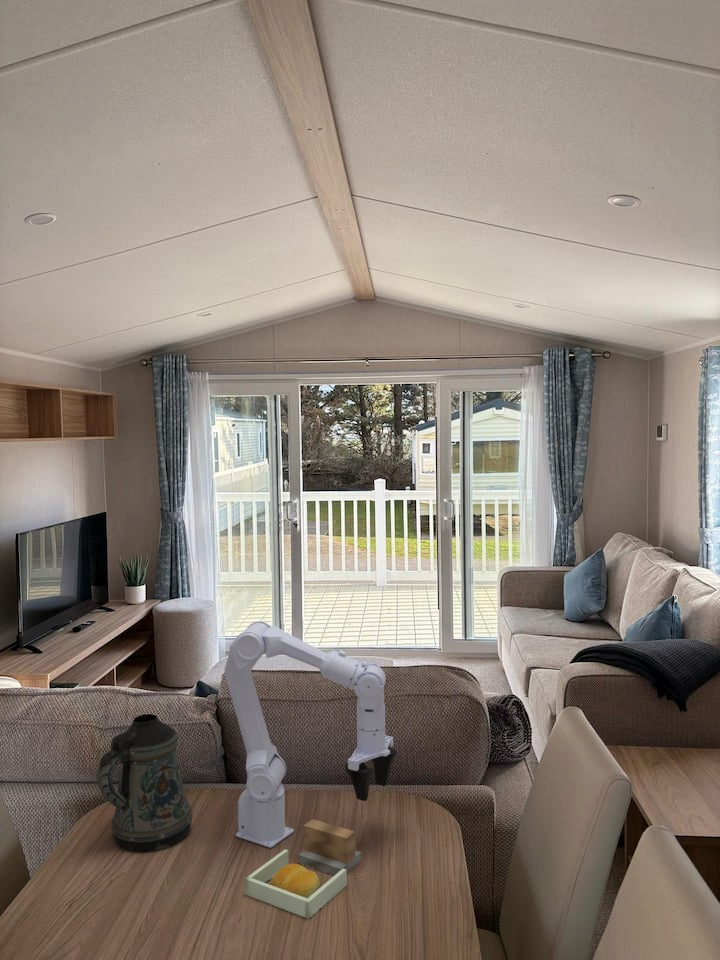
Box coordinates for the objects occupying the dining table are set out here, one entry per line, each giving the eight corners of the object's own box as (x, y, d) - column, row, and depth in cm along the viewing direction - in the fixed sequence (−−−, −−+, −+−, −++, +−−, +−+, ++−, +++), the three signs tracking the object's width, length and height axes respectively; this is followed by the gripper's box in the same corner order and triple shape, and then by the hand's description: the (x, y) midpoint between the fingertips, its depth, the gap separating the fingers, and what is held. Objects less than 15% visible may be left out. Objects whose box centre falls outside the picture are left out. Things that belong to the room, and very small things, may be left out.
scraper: (298, 864, 157) (297, 829, 156) (318, 848, 163) (318, 814, 162) (341, 879, 152) (340, 843, 151) (360, 862, 157) (360, 827, 157)
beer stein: (204, 817, 176) (201, 705, 174) (167, 865, 157) (164, 739, 155) (133, 812, 179) (130, 701, 177) (89, 858, 160) (84, 734, 158)
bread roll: (296, 910, 142) (296, 888, 142) (264, 890, 148) (263, 869, 148) (330, 890, 148) (330, 869, 148) (297, 872, 154) (297, 852, 154)
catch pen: (245, 894, 146) (244, 878, 146) (285, 864, 157) (285, 849, 156) (308, 919, 139) (308, 902, 139) (346, 885, 149) (346, 869, 149)
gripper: (369, 742, 155) (370, 811, 156) (405, 718, 167) (406, 782, 168) (338, 735, 159) (339, 802, 160) (376, 713, 171) (377, 775, 172)
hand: (371, 791), depth 164 cm, fingers open, 7 cm apart
